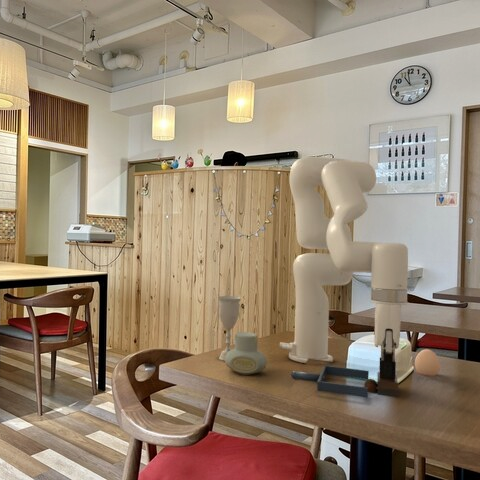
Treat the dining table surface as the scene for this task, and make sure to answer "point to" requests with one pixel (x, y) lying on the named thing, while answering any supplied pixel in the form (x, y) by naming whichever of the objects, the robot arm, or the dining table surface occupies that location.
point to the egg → (427, 363)
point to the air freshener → (245, 355)
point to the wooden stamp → (387, 386)
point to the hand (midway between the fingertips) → (387, 376)
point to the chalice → (228, 317)
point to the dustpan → (334, 386)
